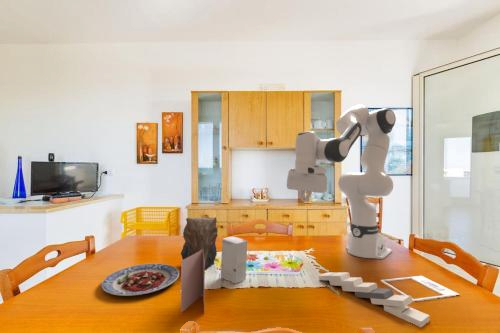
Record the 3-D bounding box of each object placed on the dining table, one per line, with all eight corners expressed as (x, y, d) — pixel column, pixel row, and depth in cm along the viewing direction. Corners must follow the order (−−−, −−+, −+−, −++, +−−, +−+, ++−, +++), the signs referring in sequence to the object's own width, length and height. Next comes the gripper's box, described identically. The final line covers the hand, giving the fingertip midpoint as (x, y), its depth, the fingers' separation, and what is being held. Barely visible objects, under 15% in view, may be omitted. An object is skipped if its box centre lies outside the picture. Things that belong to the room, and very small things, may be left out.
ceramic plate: (192, 273, 102) (192, 266, 102) (146, 308, 78) (146, 298, 78) (139, 265, 111) (139, 258, 111) (83, 293, 87) (83, 284, 86)
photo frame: (459, 293, 86) (413, 299, 82) (459, 297, 86) (413, 303, 82) (421, 275, 100) (380, 279, 96) (421, 278, 100) (380, 282, 96)
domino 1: (318, 275, 97) (339, 275, 89) (327, 272, 100) (348, 272, 92) (319, 280, 97) (341, 280, 89) (328, 276, 100) (350, 277, 92)
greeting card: (200, 293, 86) (200, 248, 86) (220, 298, 83) (220, 251, 83) (178, 311, 76) (178, 260, 75) (200, 317, 73) (200, 264, 73)
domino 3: (341, 285, 89) (367, 286, 81) (350, 281, 92) (376, 282, 84) (342, 291, 89) (369, 292, 81) (351, 287, 91) (377, 288, 84)
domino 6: (383, 304, 77) (421, 321, 69) (392, 299, 80) (429, 315, 72) (383, 310, 77) (421, 327, 69) (392, 305, 80) (429, 321, 72)
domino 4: (354, 291, 85) (383, 293, 77) (363, 287, 88) (391, 288, 80) (356, 297, 85) (385, 299, 77) (364, 292, 87) (393, 294, 80)
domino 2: (329, 280, 93) (352, 281, 85) (337, 276, 96) (361, 277, 88) (330, 285, 93) (354, 286, 85) (339, 281, 95) (363, 282, 88)
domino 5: (370, 298, 80) (402, 300, 73) (378, 293, 83) (410, 295, 76) (371, 304, 80) (404, 307, 72) (380, 299, 83) (412, 301, 75)
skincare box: (220, 277, 98) (220, 238, 98) (231, 272, 103) (231, 235, 103) (236, 284, 93) (236, 243, 93) (247, 278, 98) (247, 239, 97)
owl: (179, 265, 110) (179, 218, 110) (201, 257, 120) (201, 213, 120) (200, 273, 102) (200, 222, 102) (222, 263, 113) (222, 217, 113)
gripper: (283, 168, 118) (283, 199, 118) (319, 169, 101) (319, 205, 101) (293, 168, 121) (293, 198, 121) (329, 169, 105) (329, 203, 105)
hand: (305, 201), depth 111 cm, fingers closed
